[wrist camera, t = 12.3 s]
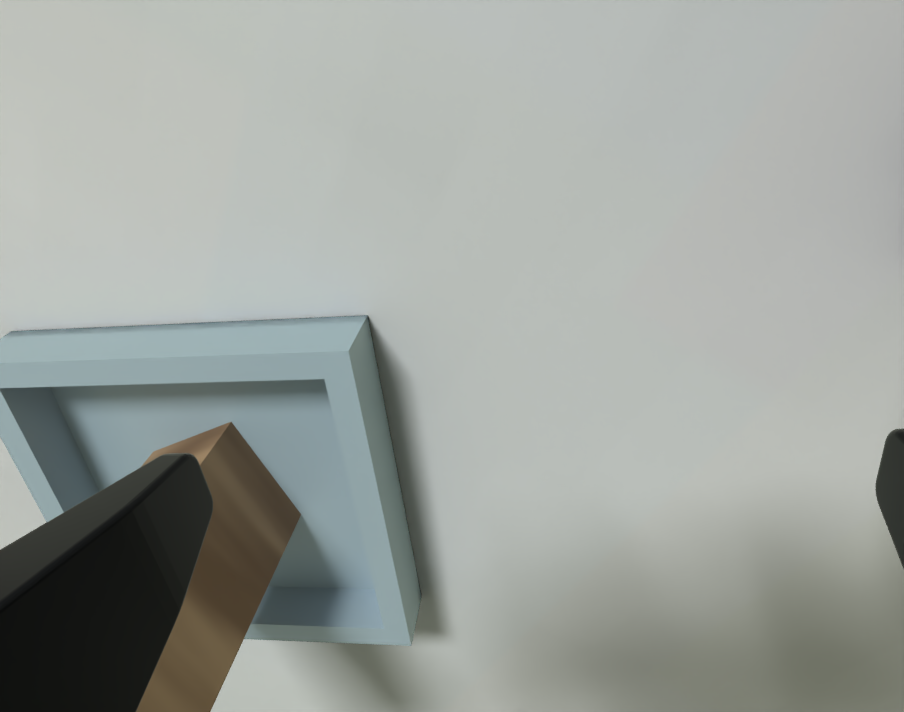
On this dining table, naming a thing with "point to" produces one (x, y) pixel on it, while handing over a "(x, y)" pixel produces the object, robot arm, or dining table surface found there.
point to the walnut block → (222, 571)
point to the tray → (262, 426)
